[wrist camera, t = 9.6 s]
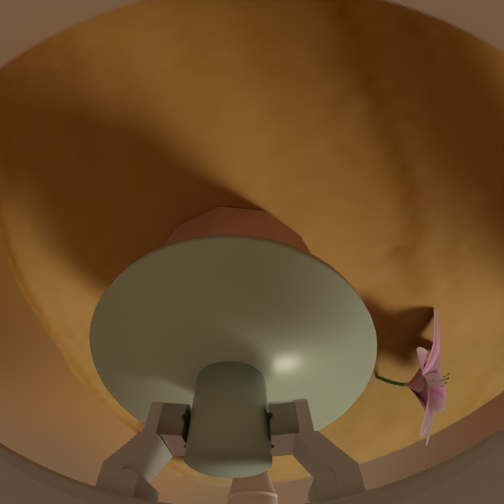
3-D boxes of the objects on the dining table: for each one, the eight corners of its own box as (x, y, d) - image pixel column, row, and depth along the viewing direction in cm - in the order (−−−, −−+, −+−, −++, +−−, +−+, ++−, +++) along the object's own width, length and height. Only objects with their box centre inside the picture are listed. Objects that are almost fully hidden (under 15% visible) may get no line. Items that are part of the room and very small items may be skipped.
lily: (418, 383, 27) (479, 404, 18) (347, 437, 23) (411, 479, 14) (415, 294, 26) (490, 300, 17) (334, 340, 22) (424, 371, 13)
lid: (323, 173, 9) (395, 204, 4) (384, 396, 13) (411, 460, 9) (50, 304, 10) (-5, 367, 6) (189, 451, 15) (182, 509, 10)
